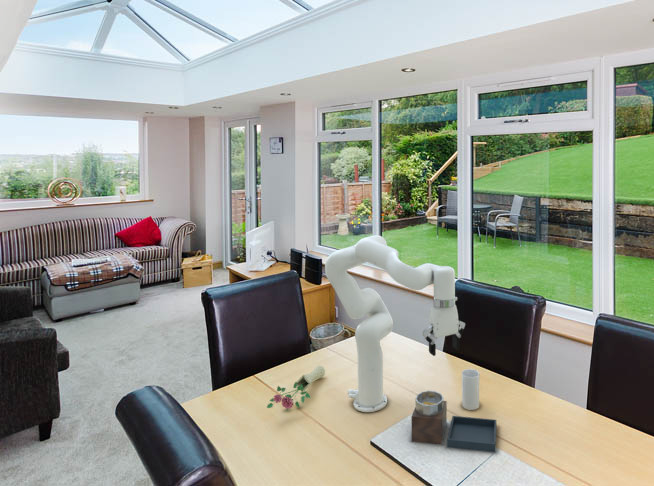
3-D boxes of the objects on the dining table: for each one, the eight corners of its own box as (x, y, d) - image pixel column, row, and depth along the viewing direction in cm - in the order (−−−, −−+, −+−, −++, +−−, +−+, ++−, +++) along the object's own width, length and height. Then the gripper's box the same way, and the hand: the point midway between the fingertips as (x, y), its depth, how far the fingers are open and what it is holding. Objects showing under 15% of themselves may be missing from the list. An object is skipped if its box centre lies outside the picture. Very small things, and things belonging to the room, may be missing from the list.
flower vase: (325, 398, 179) (291, 428, 145) (299, 387, 181) (259, 415, 147) (335, 369, 182) (304, 392, 148) (309, 359, 183) (273, 379, 150)
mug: (477, 412, 155) (476, 378, 155) (459, 408, 157) (459, 375, 158) (483, 398, 164) (483, 366, 165) (467, 395, 167) (466, 364, 167)
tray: (447, 447, 136) (447, 439, 136) (452, 422, 149) (452, 415, 149) (495, 452, 133) (495, 444, 133) (496, 427, 146) (496, 419, 146)
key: (422, 406, 144) (422, 404, 144) (423, 402, 146) (423, 401, 146) (436, 407, 143) (436, 405, 143) (437, 403, 145) (437, 402, 145)
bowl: (413, 415, 140) (413, 404, 140) (419, 399, 149) (419, 389, 149) (440, 417, 138) (440, 406, 138) (445, 402, 147) (445, 391, 147)
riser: (411, 441, 139) (411, 416, 139) (418, 421, 149) (418, 398, 150) (441, 444, 137) (441, 419, 137) (446, 424, 148) (446, 400, 148)
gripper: (458, 295, 158) (458, 342, 158) (417, 303, 149) (417, 352, 149) (470, 301, 152) (470, 349, 151) (428, 309, 143) (428, 361, 142)
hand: (444, 351), depth 150 cm, fingers open, 9 cm apart
